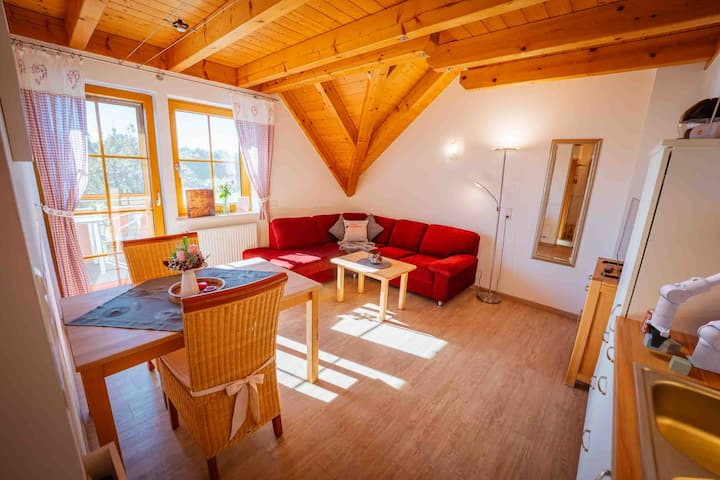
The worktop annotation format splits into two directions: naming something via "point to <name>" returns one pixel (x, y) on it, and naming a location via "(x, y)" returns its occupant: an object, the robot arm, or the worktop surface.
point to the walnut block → (671, 347)
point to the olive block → (680, 365)
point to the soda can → (648, 317)
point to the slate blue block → (648, 343)
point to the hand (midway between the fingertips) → (652, 343)
